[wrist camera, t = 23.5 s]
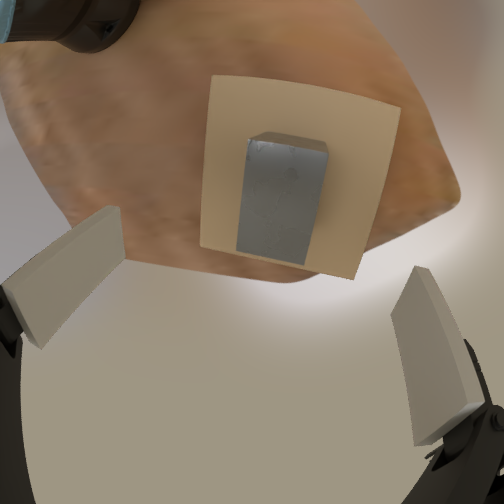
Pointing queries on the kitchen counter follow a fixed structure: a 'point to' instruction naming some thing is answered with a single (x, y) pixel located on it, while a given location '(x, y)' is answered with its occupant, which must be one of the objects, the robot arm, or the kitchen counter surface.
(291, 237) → the block
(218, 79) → the lid
